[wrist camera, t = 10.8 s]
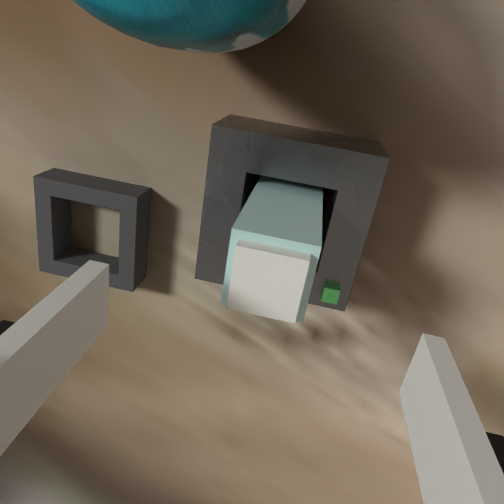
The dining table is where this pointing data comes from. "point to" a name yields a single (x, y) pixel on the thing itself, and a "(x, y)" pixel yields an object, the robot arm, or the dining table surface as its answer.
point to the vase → (196, 21)
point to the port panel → (297, 170)
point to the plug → (274, 250)
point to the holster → (100, 194)
